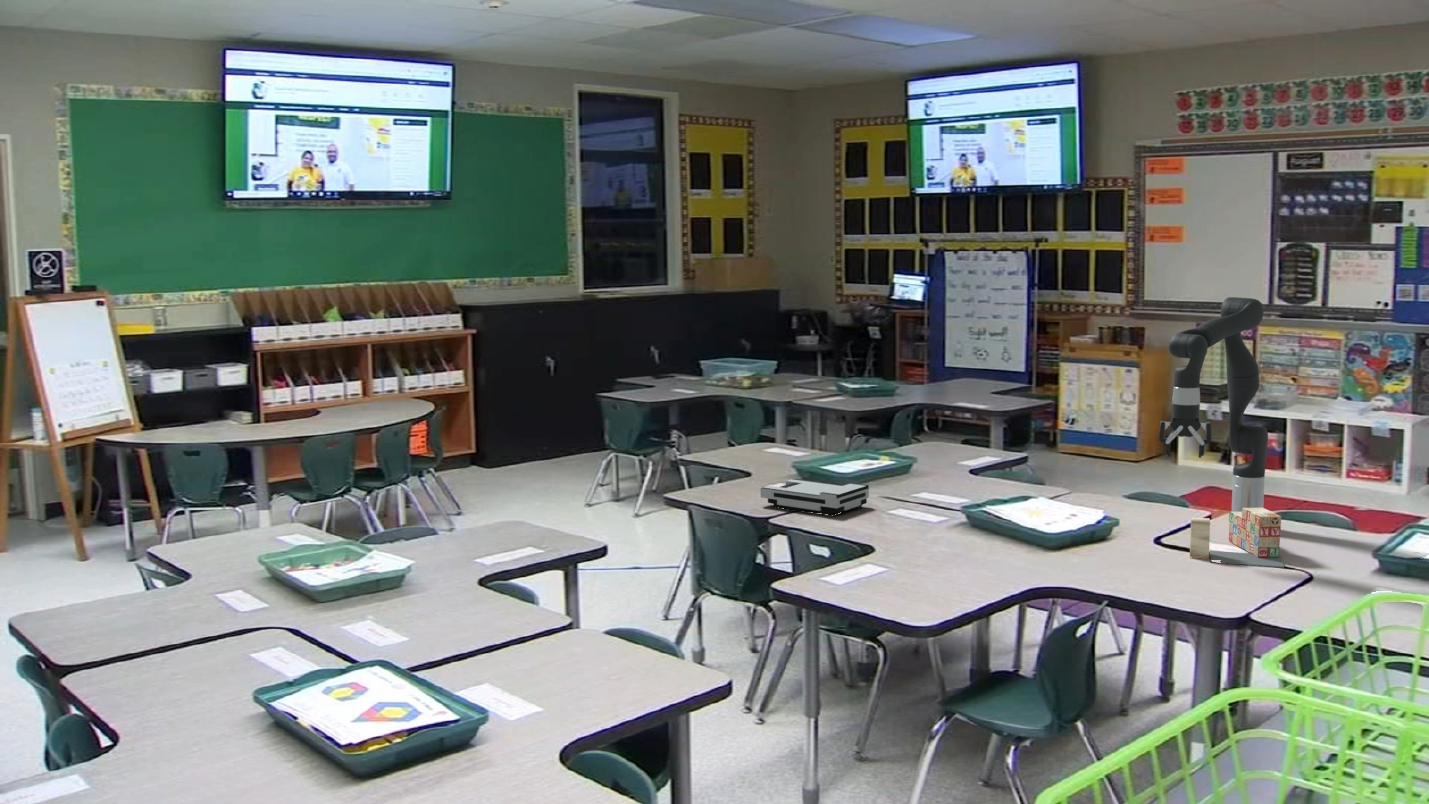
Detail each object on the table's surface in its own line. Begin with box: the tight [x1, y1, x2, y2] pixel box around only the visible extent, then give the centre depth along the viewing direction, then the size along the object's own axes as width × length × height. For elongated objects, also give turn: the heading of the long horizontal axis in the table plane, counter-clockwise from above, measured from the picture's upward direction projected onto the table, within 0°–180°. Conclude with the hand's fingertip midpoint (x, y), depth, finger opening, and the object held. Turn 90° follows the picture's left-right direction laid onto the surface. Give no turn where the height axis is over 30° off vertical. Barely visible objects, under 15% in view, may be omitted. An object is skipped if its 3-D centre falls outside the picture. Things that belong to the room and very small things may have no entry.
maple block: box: [1189, 516, 1211, 560], centre depth 351 cm, size 5×5×11 cm
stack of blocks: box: [1228, 507, 1282, 557], centre depth 358 cm, size 21×6×12 cm, turn 179°
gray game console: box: [760, 478, 870, 515], centre depth 427 cm, size 21×32×8 cm, turn 51°
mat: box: [1209, 550, 1285, 569], centre depth 348 cm, size 13×19×1 cm
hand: (1184, 456), depth 355 cm, fingers open, 8 cm apart
